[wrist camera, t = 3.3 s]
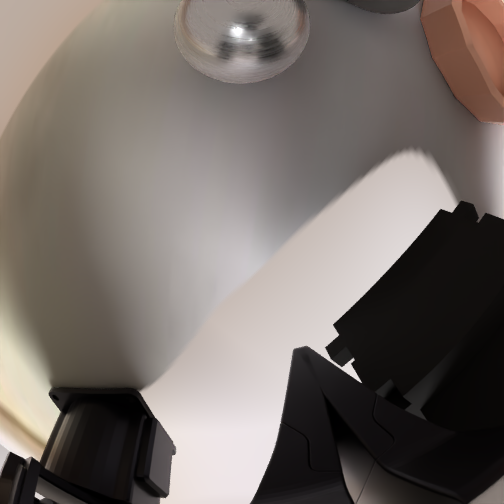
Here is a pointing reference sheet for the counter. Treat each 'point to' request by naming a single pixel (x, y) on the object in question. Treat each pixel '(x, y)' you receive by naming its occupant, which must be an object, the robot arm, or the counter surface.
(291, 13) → the steel ball
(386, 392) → the toy
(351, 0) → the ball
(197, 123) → the counter surface
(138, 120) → the counter surface
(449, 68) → the dish
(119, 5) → the counter surface
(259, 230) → the counter surface
